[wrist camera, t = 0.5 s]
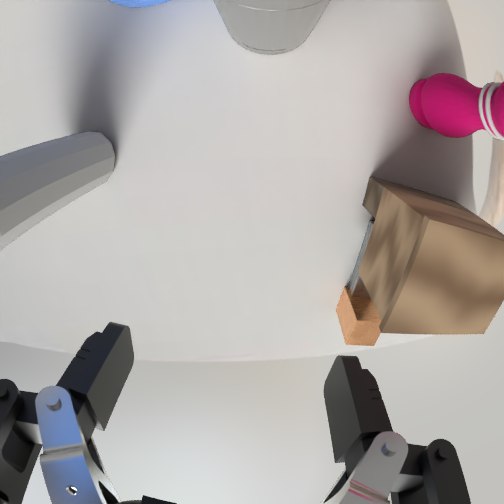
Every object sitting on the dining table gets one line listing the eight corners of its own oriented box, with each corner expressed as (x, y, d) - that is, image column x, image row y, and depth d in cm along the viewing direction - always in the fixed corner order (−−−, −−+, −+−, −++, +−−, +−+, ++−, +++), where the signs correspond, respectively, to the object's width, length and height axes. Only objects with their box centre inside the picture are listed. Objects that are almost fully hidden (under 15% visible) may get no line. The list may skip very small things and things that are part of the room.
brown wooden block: (368, 173, 30) (429, 219, 18) (458, 200, 31) (527, 249, 18) (345, 256, 35) (380, 333, 22) (433, 269, 36) (483, 334, 23)
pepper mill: (399, 75, 24) (530, 63, 7) (447, 76, 23) (574, 81, 6) (409, 134, 28) (539, 179, 10) (455, 131, 27) (579, 175, 9)
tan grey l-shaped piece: (366, 219, 33) (386, 245, 27) (393, 225, 33) (417, 251, 27) (336, 309, 39) (345, 344, 33) (361, 312, 39) (373, 345, 33)
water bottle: (116, 123, 28) (-75, 183, 6) (122, 185, 32) (-34, 309, 10) (59, 135, 29) (-102, 201, 7) (67, 191, 32) (-74, 292, 10)
